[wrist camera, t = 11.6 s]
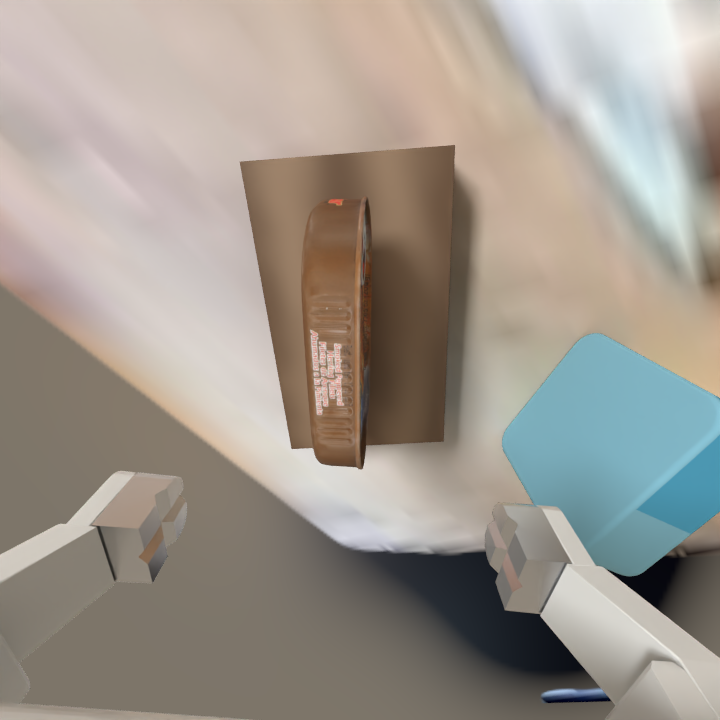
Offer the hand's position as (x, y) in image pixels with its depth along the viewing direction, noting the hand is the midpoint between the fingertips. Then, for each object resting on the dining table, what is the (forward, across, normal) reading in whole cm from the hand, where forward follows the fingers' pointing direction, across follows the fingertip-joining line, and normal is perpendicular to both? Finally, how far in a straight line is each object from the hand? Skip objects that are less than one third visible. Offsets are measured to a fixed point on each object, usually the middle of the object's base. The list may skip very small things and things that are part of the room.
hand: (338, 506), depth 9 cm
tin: (+16, +1, 0) cm, 16 cm away
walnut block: (+20, 0, 0) cm, 20 cm away
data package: (+19, -18, +6) cm, 27 cm away
